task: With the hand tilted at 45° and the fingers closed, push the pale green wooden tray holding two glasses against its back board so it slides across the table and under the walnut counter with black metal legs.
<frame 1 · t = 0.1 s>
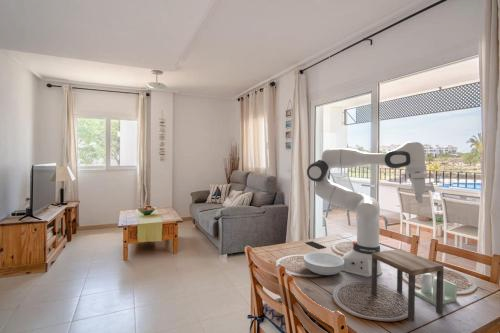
hand: (419, 201, 135), 39 cm above the table, tool pointing down, fingers open, 8 cm apart
smartphone: (315, 246, 189), on the table
walnut counter: (404, 303, 113), on the table
serving bowl: (323, 271, 146), on the table
glasses tray: (434, 297, 118), on the table
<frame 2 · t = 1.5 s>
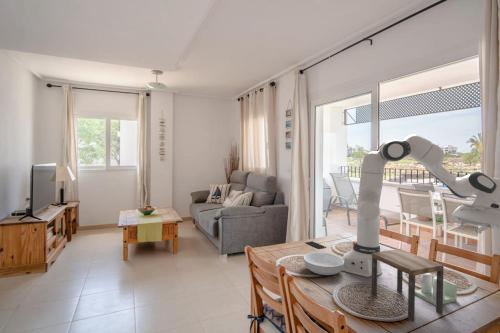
hand: (468, 230, 124), 28 cm above the table, tool tilted 45°, fingers open, 6 cm apart
nothing on the table moved.
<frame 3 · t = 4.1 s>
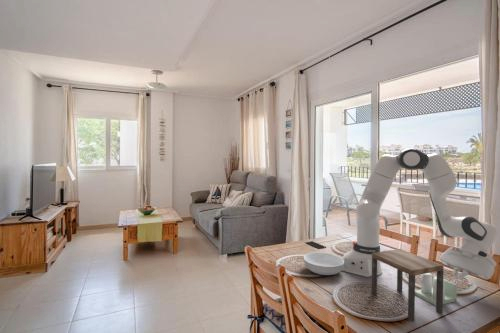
hand: (456, 277, 122), 7 cm above the table, tool tilted 45°, fingers closed
nothing on the table moved.
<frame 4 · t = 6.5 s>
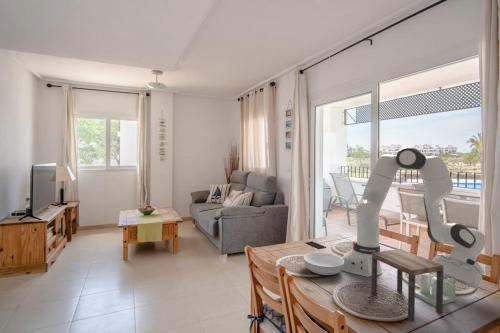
hand: (444, 285, 120), 4 cm above the table, tool tilted 45°, fingers closed, pressing on glasses tray
glasses tray: (433, 297, 118), on the table, touching gripper
everything else where it was.
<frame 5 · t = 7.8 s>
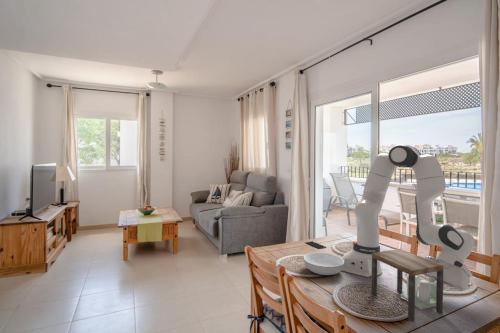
hand: (431, 288, 118), 4 cm above the table, tool tilted 45°, fingers closed
glasses tray: (420, 300, 115), on the table
everything else where it was.
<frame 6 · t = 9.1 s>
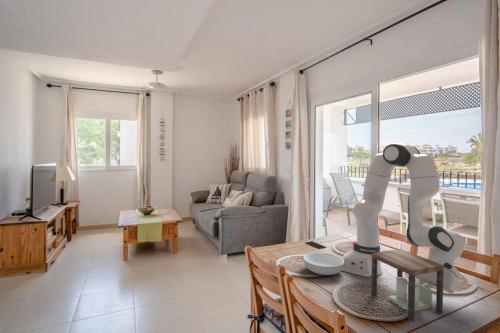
hand: (421, 290, 116), 4 cm above the table, tool tilted 45°, fingers closed, pressing on glasses tray
glasses tray: (409, 303, 113), on the table, touching gripper
everything else where it was.
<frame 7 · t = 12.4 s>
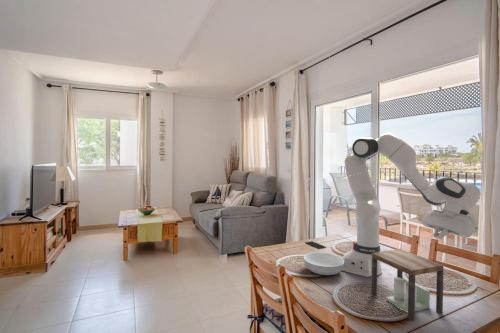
hand: (436, 237, 118), 26 cm above the table, tool tilted 45°, fingers closed
glasses tray: (407, 304, 113), on the table
everything else where it was.
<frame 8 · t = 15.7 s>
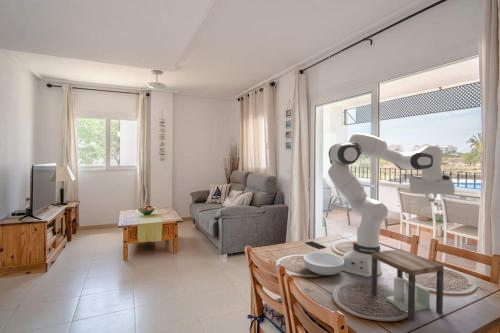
hand: (430, 201, 146), 37 cm above the table, tool pointing down, fingers closed
nothing on the table moved.
at the end: glasses tray 1.1 cm from the walnut counter (horizontally); glasses tray tilted 0° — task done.
